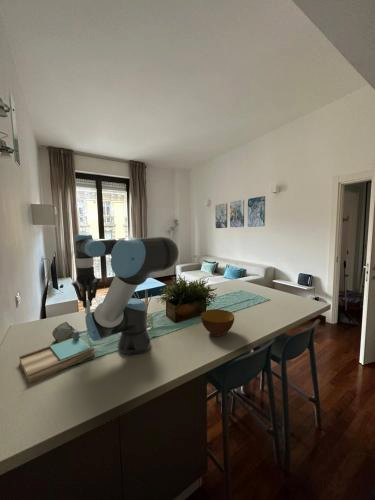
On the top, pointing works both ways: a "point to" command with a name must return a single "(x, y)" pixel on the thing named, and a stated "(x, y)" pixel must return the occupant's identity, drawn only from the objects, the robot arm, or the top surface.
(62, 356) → the lid
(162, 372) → the top surface
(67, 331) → the stone
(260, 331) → the top surface
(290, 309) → the top surface
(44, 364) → the wooden box
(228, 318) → the bowl
